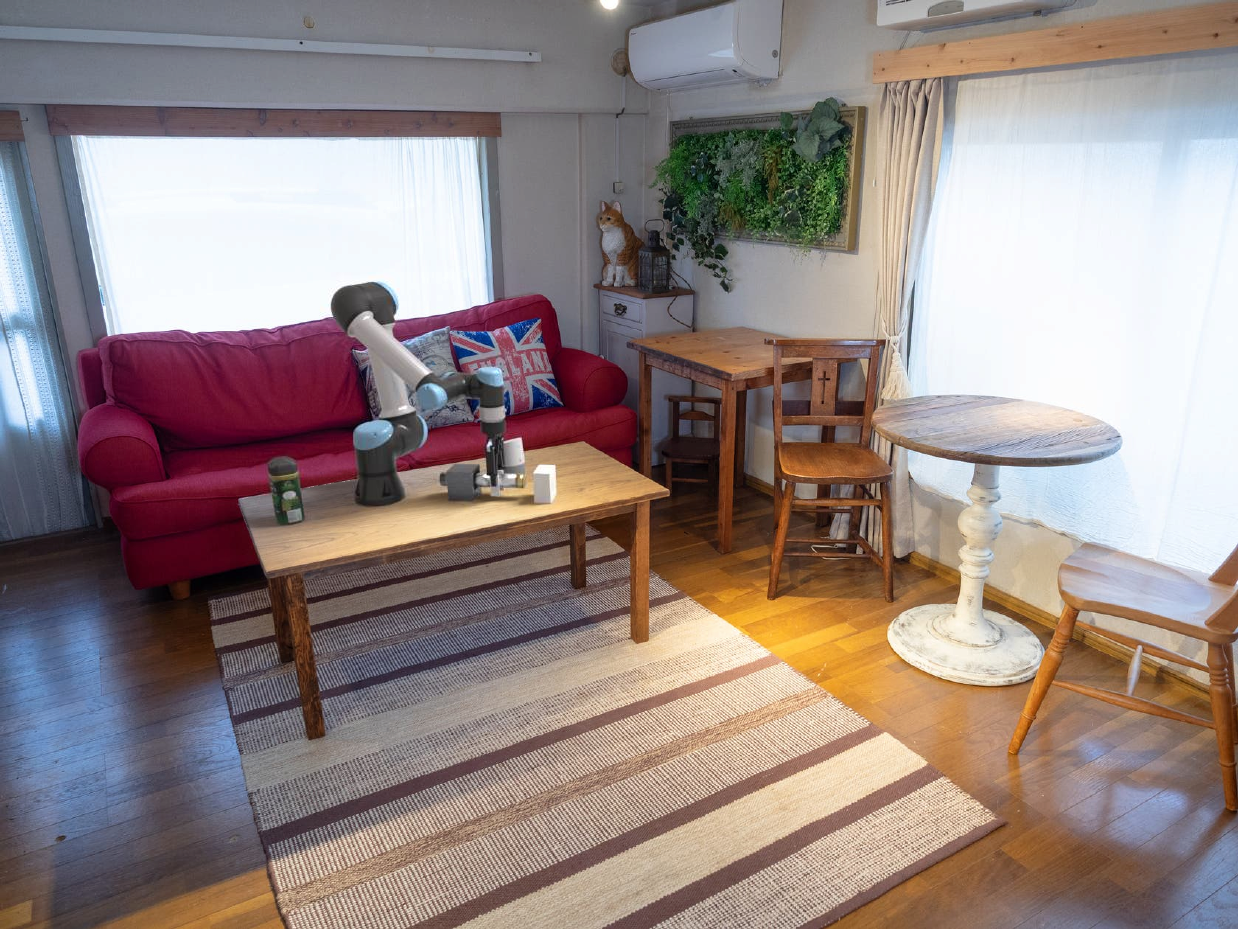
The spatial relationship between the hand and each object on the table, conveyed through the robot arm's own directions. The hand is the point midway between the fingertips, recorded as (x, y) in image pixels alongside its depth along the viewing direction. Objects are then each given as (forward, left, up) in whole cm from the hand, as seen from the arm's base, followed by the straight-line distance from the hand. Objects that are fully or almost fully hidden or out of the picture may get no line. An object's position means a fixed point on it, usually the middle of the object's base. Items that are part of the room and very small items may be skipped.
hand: (497, 492), depth 264 cm
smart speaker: (-1, +18, -2) cm, 18 cm away
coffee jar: (-56, -24, -2) cm, 60 cm away
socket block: (+15, 0, -1) cm, 15 cm away
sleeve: (-11, 0, -1) cm, 11 cm away
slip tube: (-5, 0, +2) cm, 5 cm away
